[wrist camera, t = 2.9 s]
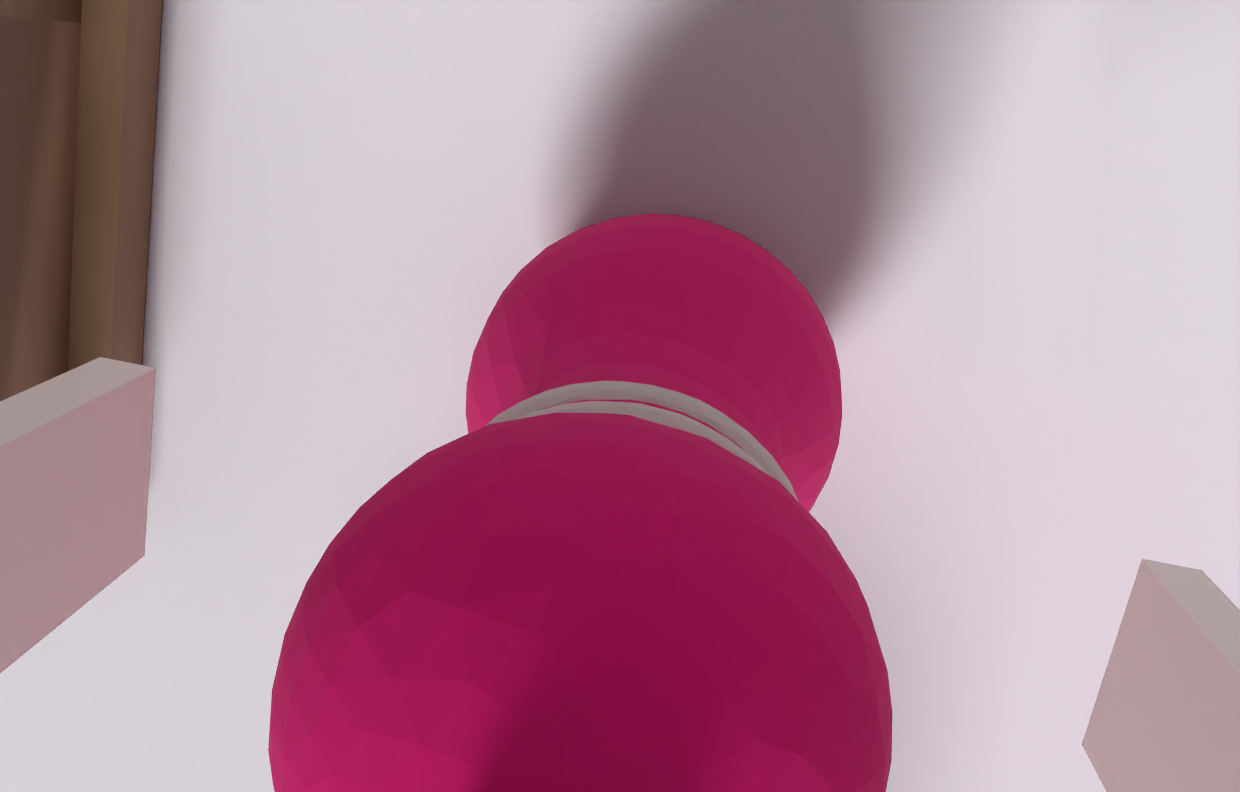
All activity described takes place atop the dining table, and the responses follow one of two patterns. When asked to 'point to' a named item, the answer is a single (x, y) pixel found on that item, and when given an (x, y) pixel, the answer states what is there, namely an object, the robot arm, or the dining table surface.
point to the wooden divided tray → (74, 182)
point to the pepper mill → (604, 553)
